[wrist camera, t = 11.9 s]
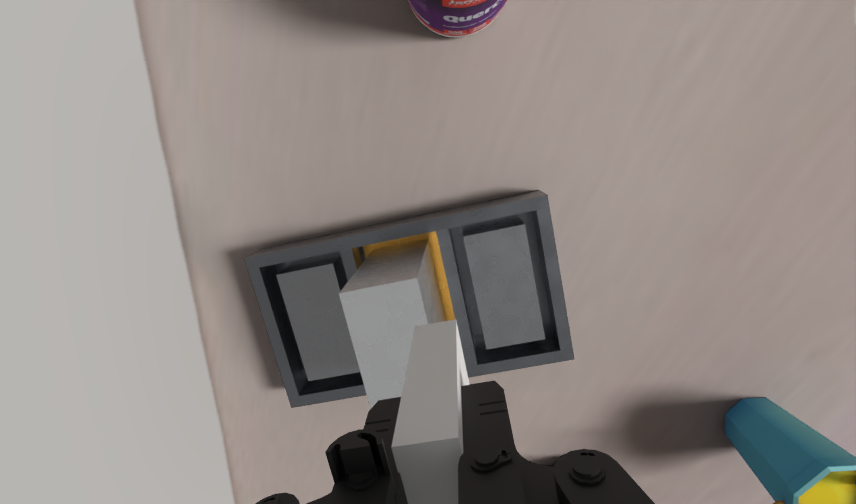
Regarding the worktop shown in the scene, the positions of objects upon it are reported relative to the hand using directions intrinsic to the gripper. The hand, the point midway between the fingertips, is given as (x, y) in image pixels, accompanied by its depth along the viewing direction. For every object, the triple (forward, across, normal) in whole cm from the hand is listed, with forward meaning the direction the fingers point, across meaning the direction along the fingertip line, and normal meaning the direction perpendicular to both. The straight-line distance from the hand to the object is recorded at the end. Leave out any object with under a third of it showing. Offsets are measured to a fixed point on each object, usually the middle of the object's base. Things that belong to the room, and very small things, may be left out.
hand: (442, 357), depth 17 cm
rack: (+24, -4, -6) cm, 25 cm away
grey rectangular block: (+23, -4, -6) cm, 24 cm away
